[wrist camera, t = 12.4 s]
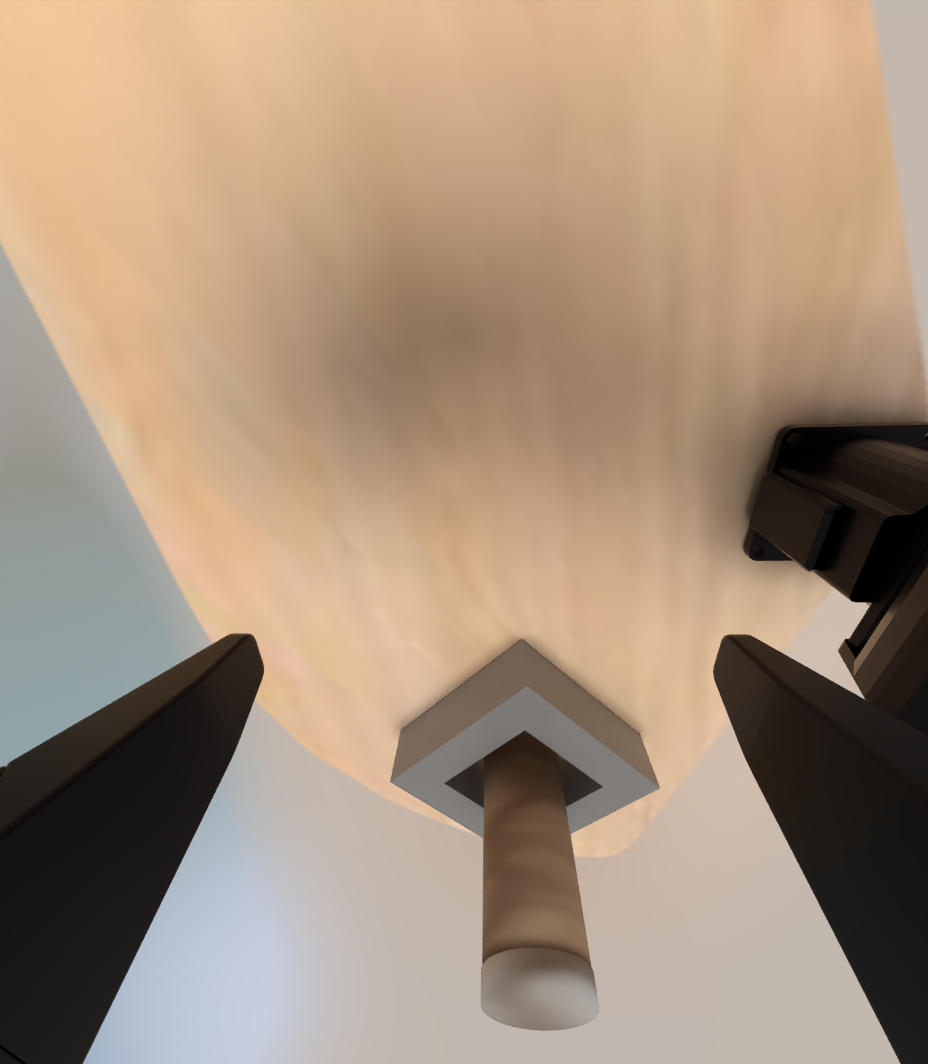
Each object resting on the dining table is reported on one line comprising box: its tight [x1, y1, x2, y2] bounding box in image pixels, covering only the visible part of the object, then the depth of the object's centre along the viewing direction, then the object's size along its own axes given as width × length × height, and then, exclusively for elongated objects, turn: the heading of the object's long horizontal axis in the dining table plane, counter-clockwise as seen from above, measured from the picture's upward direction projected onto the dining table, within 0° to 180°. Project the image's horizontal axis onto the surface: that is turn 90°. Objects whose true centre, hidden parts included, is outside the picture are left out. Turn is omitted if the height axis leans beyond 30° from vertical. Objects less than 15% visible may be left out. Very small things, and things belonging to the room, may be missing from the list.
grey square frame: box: [390, 640, 660, 838], centre depth 26 cm, size 11×11×4 cm
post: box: [481, 730, 599, 1030], centre depth 22 cm, size 5×5×12 cm
